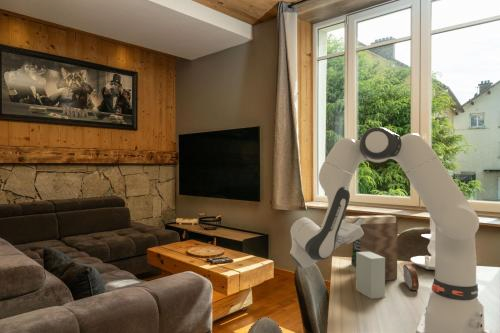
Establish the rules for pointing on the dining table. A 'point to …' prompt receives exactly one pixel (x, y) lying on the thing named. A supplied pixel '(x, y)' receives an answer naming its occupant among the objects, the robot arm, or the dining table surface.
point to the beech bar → (371, 219)
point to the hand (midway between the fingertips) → (357, 218)
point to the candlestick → (427, 260)
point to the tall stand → (382, 244)
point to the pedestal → (370, 274)
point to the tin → (411, 277)
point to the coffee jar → (355, 250)
